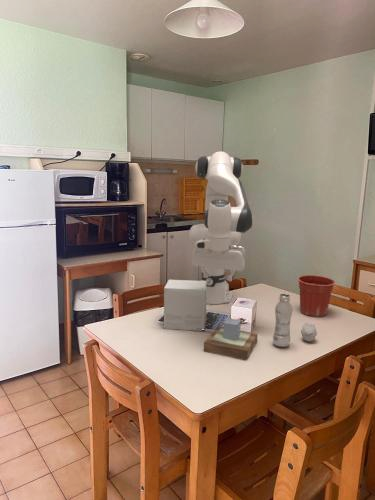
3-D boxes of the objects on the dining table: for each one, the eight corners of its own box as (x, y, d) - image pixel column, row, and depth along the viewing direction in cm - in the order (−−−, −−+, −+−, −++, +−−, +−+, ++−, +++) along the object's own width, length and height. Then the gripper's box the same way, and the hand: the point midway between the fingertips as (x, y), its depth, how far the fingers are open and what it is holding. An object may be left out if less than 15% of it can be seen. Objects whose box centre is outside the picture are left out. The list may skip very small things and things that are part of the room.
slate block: (227, 332, 145) (227, 318, 144) (239, 335, 143) (240, 320, 142) (223, 337, 140) (223, 322, 139) (236, 340, 138) (236, 325, 137)
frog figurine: (316, 338, 151) (318, 322, 149) (315, 345, 144) (317, 328, 143) (301, 335, 153) (302, 319, 152) (299, 342, 147) (300, 325, 145)
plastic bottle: (268, 344, 144) (271, 294, 140) (279, 340, 149) (283, 291, 145) (282, 351, 139) (286, 299, 135) (293, 346, 144) (297, 295, 140)
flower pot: (327, 322, 168) (331, 287, 165) (290, 314, 176) (293, 281, 173) (334, 311, 182) (338, 278, 178) (300, 304, 190) (303, 273, 187)
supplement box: (206, 319, 168) (207, 280, 164) (204, 331, 155) (205, 289, 151) (167, 317, 170) (168, 278, 166) (163, 329, 157) (163, 287, 153)
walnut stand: (217, 334, 153) (218, 325, 152) (257, 342, 147) (257, 332, 146) (203, 351, 138) (204, 340, 137) (246, 360, 132) (247, 349, 131)
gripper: (248, 244, 140) (246, 280, 144) (196, 239, 148) (195, 273, 151) (243, 248, 135) (242, 285, 138) (190, 242, 142) (190, 278, 145)
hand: (217, 279), depth 145 cm, fingers open, 8 cm apart
